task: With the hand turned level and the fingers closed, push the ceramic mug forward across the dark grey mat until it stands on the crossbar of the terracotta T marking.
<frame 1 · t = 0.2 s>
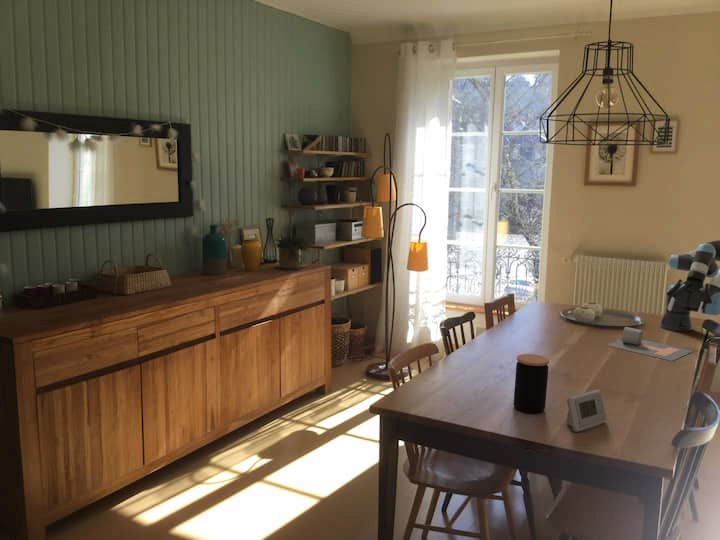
hand: (683, 312, 313), 15 cm above the table, tool tilted 35°, fingers open, 13 cm apart
coffee jar: (528, 409, 226), on the table
t mat: (649, 348, 305), on the table
digital clock: (585, 426, 214), on the table
ceramic mug: (631, 343, 312), resting on t mat
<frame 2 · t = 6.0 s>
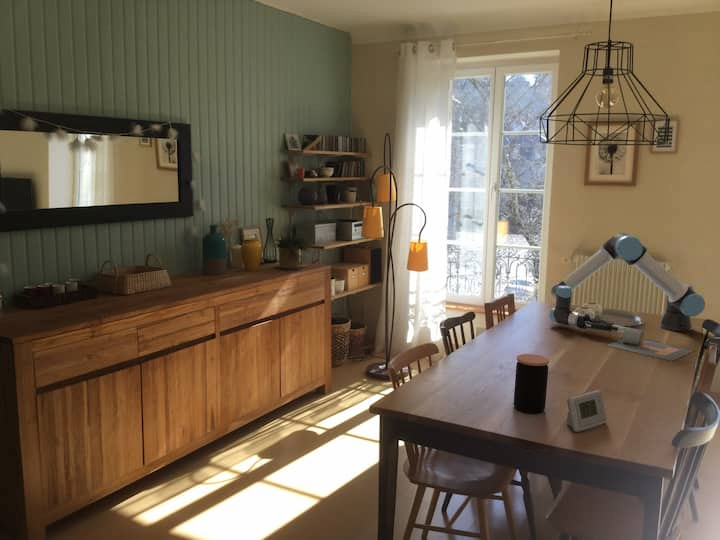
hand: (625, 330, 313), 6 cm above the table, tool horizontal, fingers closed
ceramic mug: (632, 343, 312), resting on t mat, touching gripper
everything else where it was.
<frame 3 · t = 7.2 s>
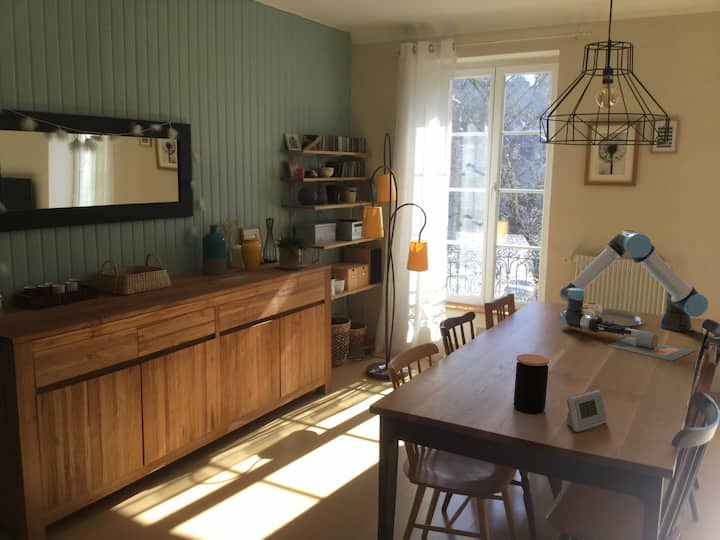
hand: (638, 333, 308), 6 cm above the table, tool horizontal, fingers closed
ceramic mug: (646, 347, 307), resting on t mat, touching gripper
everything else where it was.
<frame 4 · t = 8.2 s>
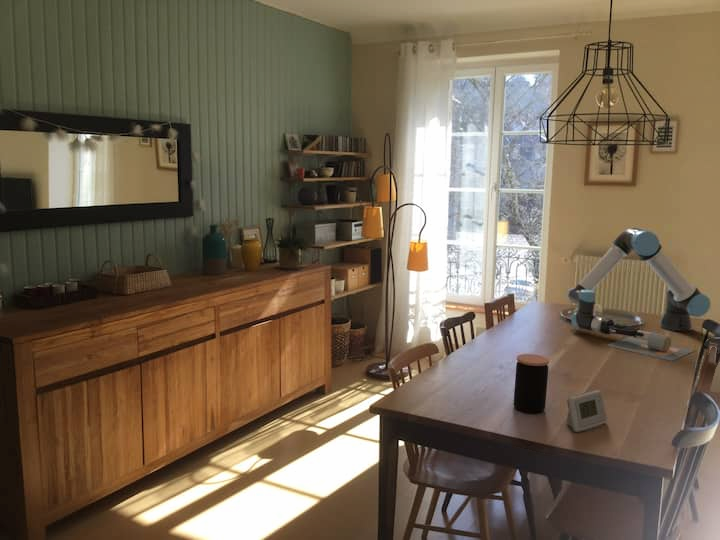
hand: (651, 336, 304), 6 cm above the table, tool horizontal, fingers closed
ceramic mug: (659, 349, 303), resting on t mat, touching gripper
everything else where it was.
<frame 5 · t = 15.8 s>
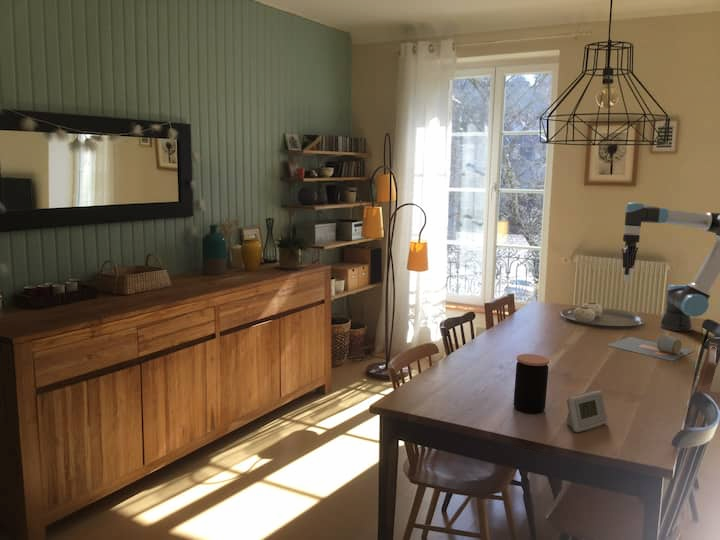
hand: (626, 280, 329), 26 cm above the table, tool pointing down, fingers closed
ceramic mug: (669, 352, 300), resting on t mat
everything else where it was.
at the end: ceramic mug inside the target area (1.0 cm from its centre), resting on t mat; ceramic mug tilted 0° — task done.
